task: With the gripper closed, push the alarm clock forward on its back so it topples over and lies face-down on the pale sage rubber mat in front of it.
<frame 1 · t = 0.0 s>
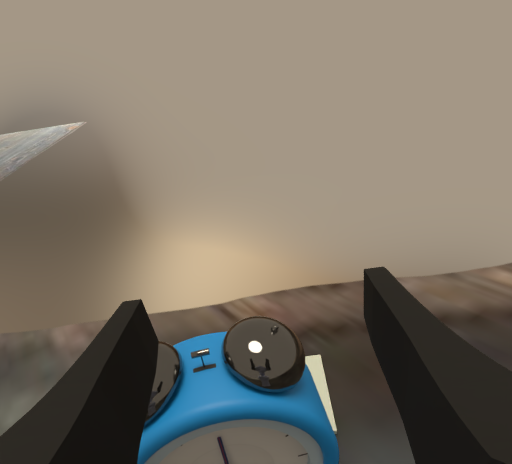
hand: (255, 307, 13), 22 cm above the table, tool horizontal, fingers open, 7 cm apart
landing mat: (237, 402, 36), on the table
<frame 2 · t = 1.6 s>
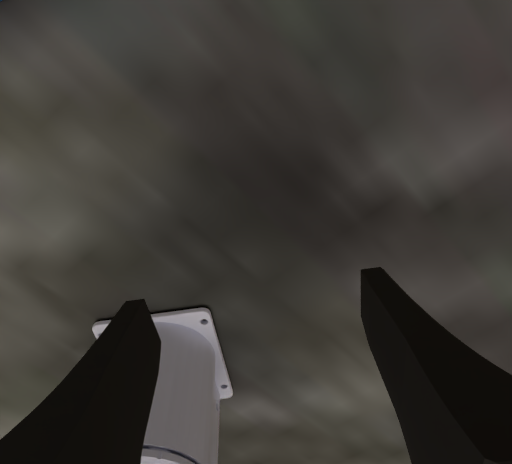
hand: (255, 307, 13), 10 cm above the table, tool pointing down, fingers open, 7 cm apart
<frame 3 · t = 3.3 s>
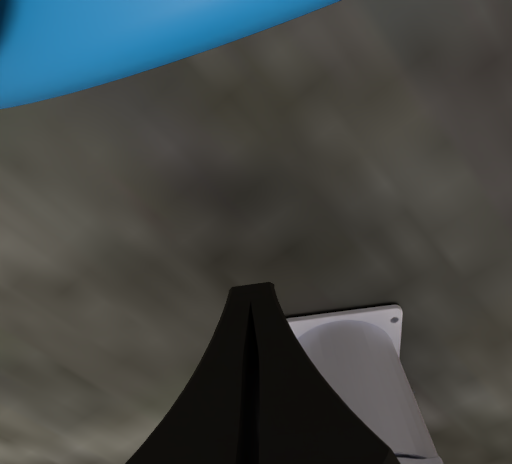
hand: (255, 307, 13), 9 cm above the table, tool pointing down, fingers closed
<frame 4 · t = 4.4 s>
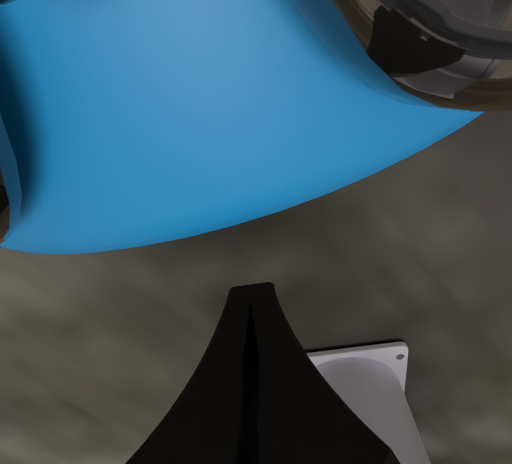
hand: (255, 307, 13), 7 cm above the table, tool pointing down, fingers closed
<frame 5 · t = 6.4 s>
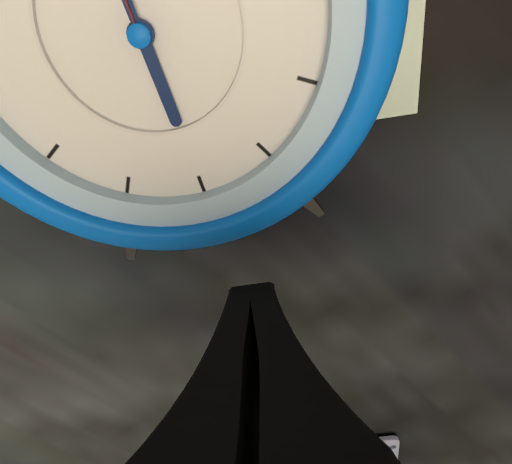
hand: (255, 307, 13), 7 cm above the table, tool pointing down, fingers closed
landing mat: (209, 39, 16), on the table
alarm clock: (227, 209, 16), point 3 cm above the table, touching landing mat
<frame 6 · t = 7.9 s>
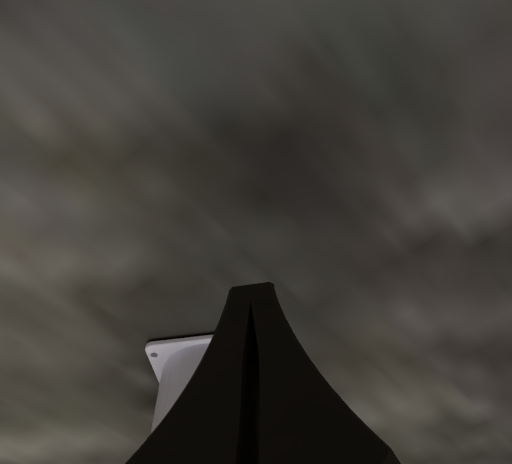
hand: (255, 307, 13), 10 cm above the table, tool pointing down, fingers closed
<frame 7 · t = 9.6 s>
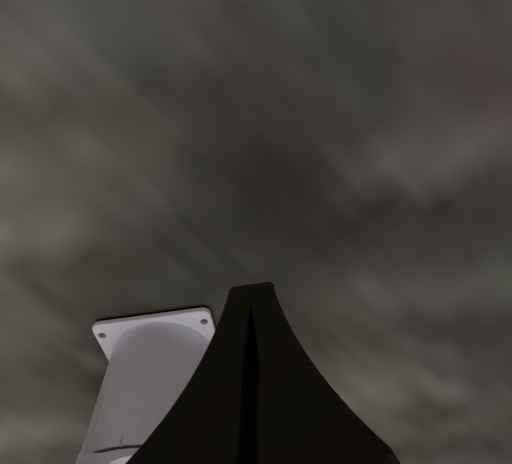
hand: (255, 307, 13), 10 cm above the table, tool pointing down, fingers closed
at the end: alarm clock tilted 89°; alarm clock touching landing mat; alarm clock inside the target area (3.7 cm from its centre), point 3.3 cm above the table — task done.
